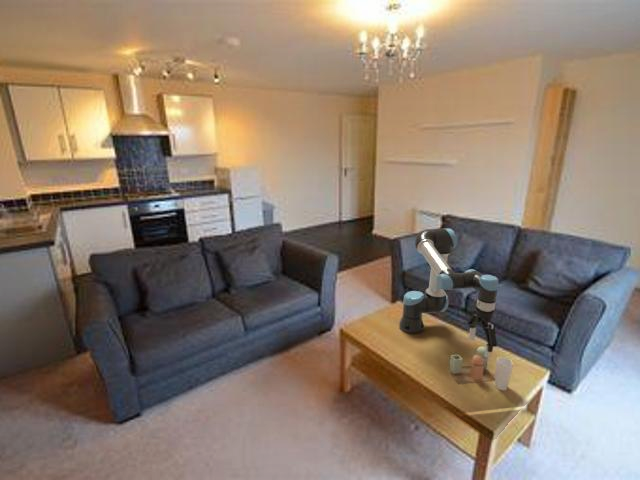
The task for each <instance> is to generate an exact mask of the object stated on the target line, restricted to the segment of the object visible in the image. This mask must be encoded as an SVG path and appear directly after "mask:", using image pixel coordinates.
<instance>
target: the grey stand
mask: <svg viewBox="0 0 640 480" xmlns="http://www.w3.org/2000/svg"><path fill="white" fill-rule="evenodd" d="M475 355H478V353H477V352H476V353H475ZM483 359H484V363H483V365H484V368H483V371H486V369H487V367H488V361H489V357H483Z"/></svg>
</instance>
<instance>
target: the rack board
mask: <svg viewBox="0 0 640 480" xmlns="http://www.w3.org/2000/svg"><path fill="white" fill-rule="evenodd" d="M445 369H446V370H447V372H448V373H449V374H450V376H451V377H452V378H453V380H454V381H455V382H456V384H457V385H464V384H465V385H467V384H477V383H487V382H495V375H493V374H492V373H491V372H490V370H488V369H487V368H486V371H483V375H482V380H475V381H474V380H473V379H472V377H471V376H470V369H471V364H470V365H462V368H461V373H457V374H453V373H452V371H451V370H450V366H449V367H445Z"/></svg>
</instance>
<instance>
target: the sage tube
mask: <svg viewBox="0 0 640 480" xmlns="http://www.w3.org/2000/svg"><path fill="white" fill-rule="evenodd" d="M463 360H464V359H463V358H462V357H461V355H459V354H451V355H450V361H449V367H450V370H451V371H452V373H453V374H457V373H461V368H462V366H463Z"/></svg>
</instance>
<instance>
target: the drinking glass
mask: <svg viewBox="0 0 640 480" xmlns="http://www.w3.org/2000/svg"><path fill="white" fill-rule="evenodd" d="M513 367H514V363H513V361H512V360H511V359H509V358H508V357H505V356H499V357H497V358H496V363H495V374H494V378H495V381H494V387H495V388H496V389H498V390H500V391H507V390H508V386H509V383H510V379H511V375H512V372H513Z"/></svg>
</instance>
